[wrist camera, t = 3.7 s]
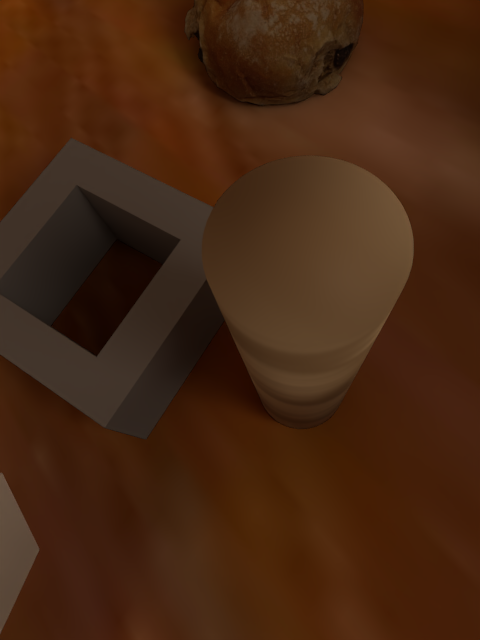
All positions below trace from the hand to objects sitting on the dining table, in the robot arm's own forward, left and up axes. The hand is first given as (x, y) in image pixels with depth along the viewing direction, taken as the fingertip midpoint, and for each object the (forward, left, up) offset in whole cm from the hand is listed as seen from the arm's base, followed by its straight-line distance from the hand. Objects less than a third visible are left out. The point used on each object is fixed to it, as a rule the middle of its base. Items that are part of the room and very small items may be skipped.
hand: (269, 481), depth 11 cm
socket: (-3, -11, -10) cm, 15 cm away
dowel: (-4, -1, -10) cm, 11 cm away
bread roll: (-22, -14, -10) cm, 28 cm away
